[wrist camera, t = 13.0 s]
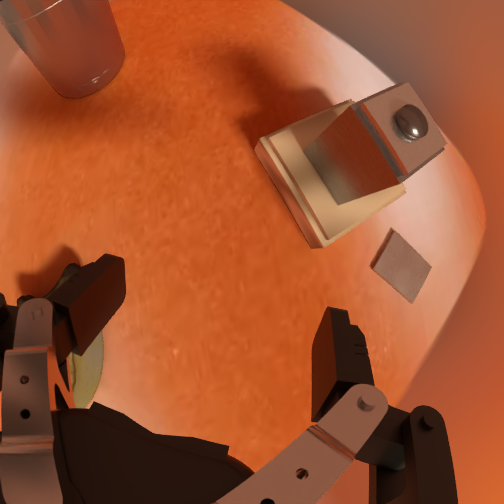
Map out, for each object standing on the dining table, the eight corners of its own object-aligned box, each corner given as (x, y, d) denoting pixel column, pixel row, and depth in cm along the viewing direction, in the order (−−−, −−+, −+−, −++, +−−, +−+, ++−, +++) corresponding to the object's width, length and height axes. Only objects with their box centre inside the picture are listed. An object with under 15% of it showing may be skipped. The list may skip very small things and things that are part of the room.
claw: (36, 249, 25) (19, 250, 22) (121, 278, 26) (110, 283, 23) (26, 406, 24) (13, 418, 21) (98, 438, 26) (90, 454, 23)
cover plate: (368, 268, 30) (373, 269, 29) (390, 231, 31) (395, 230, 30) (407, 302, 31) (412, 303, 30) (426, 266, 32) (431, 267, 31)
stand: (253, 150, 28) (261, 135, 24) (338, 111, 29) (354, 95, 25) (311, 248, 29) (327, 247, 25) (389, 197, 30) (410, 191, 26)
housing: (302, 151, 25) (360, 95, 14) (347, 127, 25) (412, 73, 15) (337, 205, 25) (414, 179, 15) (379, 176, 26) (457, 144, 15)
